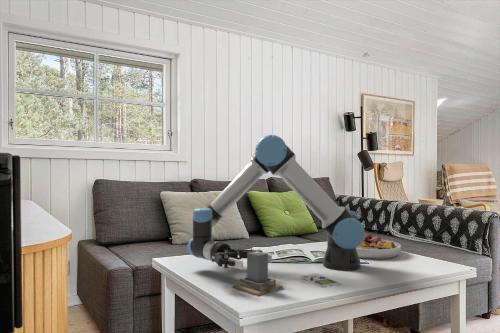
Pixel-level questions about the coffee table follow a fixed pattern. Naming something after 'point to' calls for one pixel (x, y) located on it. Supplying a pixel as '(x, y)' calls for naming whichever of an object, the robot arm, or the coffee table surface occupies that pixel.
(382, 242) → the bowl
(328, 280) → the handheld gaming device
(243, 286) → the tray
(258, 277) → the block
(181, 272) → the coffee table surface
